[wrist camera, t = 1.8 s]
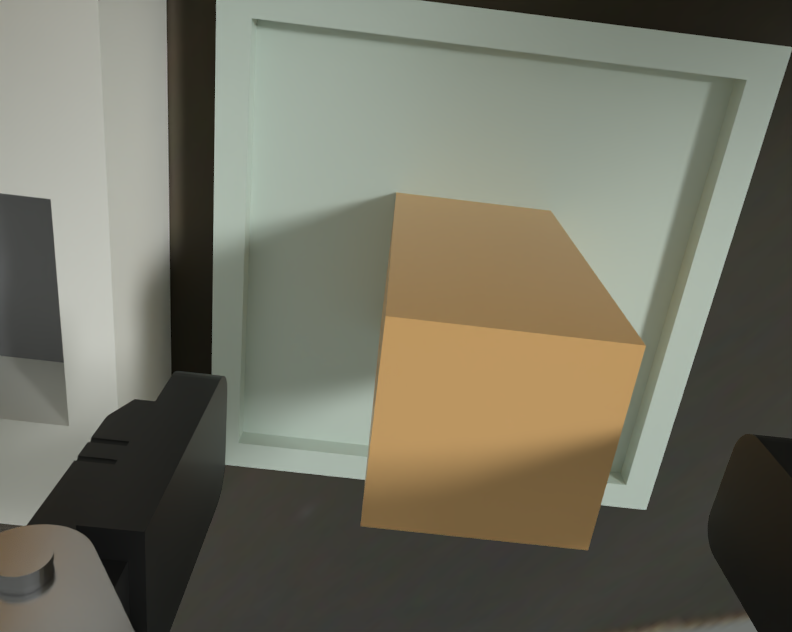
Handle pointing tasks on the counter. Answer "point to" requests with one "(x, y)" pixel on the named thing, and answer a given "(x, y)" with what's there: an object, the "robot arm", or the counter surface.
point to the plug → (494, 378)
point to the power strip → (79, 230)
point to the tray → (460, 193)
